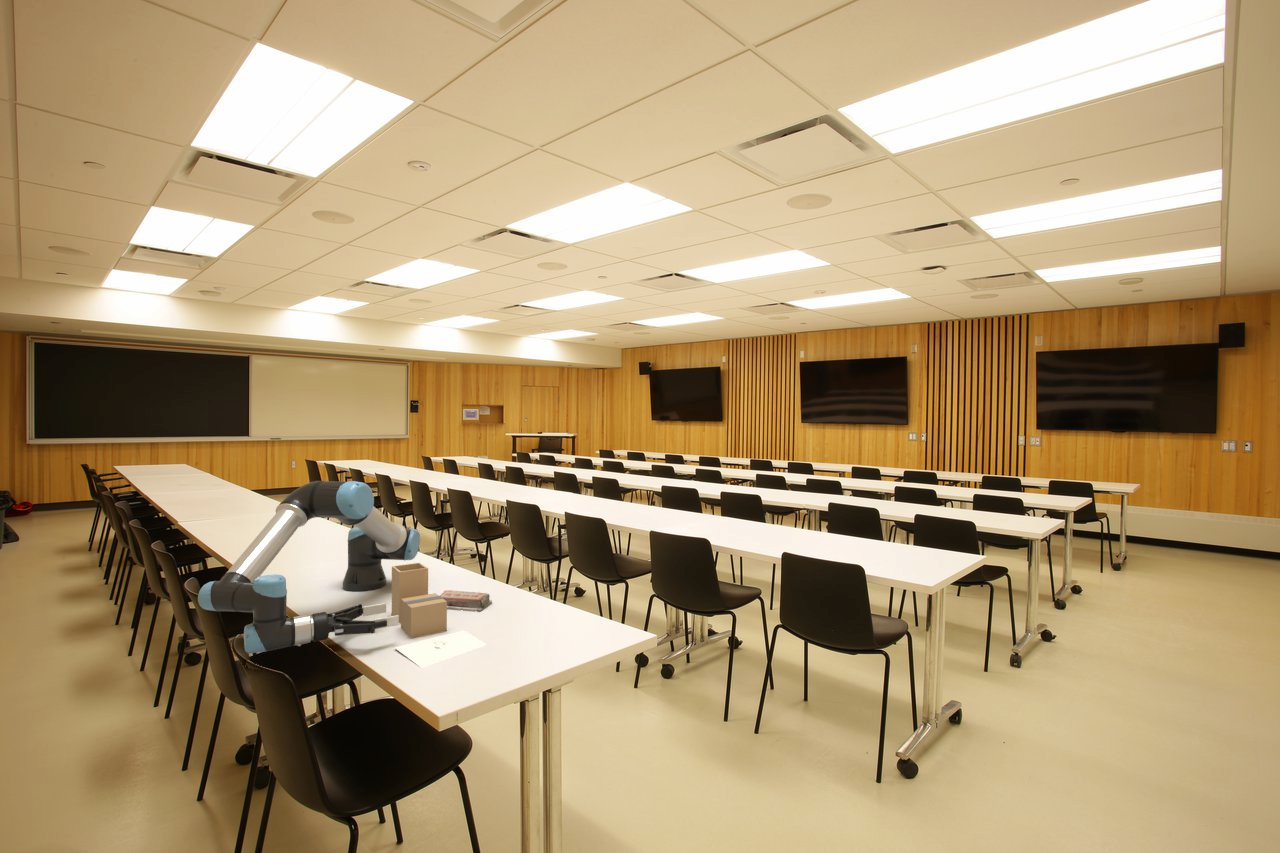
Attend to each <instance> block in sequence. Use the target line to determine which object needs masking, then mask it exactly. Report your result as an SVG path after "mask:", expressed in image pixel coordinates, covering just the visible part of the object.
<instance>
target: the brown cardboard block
mask: <svg viewBox="0 0 1280 853" xmlns="http://www.w3.org/2000/svg"><path fill="white" fill-rule="evenodd" d="M447 628H448V609H447V601H446V600H444V599H443V598H442V597H441V596H440V595H439V594H437V593H436V592H434V593H428V594H427V595H421V596H415V597H409V598H404V599H401V622H400V629H401V630H402V631H403V632H404V633H405V634H406V635H407V636H408V637H409V638H410V639H414V638H419V637H423V636H429V635H434V634H439V633H442V632H447V630H448V629H447Z"/></svg>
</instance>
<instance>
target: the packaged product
mask: <svg viewBox="0 0 1280 853" xmlns="http://www.w3.org/2000/svg"><path fill="white" fill-rule="evenodd" d="M439 596H441V597H442V598H443V599H444V600H446V601H447V610H453V611H461V610H463V612H464V611H465V612H475V611H477V613H480V612H483V611H484V610H485V609H486V608H488V607H489V606H491V605H492V604H493V601H492V599H490V594H489V593H487V592H475V591H462V590H448V589H447V590H443V592H442V593H441V594H440V595H439Z"/></svg>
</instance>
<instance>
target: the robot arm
mask: <svg viewBox="0 0 1280 853" xmlns="http://www.w3.org/2000/svg"><path fill="white" fill-rule="evenodd" d="M374 505H375V497H374V495H373V491H372V488H371V487H370V486H369V485H368V484H367V483H365V482H361V481H355V480H350V481H334V480H332V481H331V480H330V481H327V480H315V481H310V482H308V483H306V484H304V485H301V486H300V487H298V488H297V489H295V490H293V491H291V493H289V494H288V495H286V497H285V498H283V500H282V501H281V502H280V503H279V504H278V505H277V506H276V508H275V514H274V515H273V517H272V518H271V519H270V520H269V522H268V523H267V524H266V525H265V526H264V527H263V529H262V530H261V531H260V532H259V533H258V535H257V536H255V538H254V539H253V540H252V542H251V543H250V544H249V545H248V547H247V548H246V549H245V550H244V551H243V552H242V554H241V555H240V556H239V557H238V558H237V559H236V560H235V561H234V563H233V564H232V566H230V567H229V569H228V571H226V572H225V574H224V575H223V576H222V577H221V578H220V580H214V581H209V582H208V581H207V583H205V584H203V586H202V587H201V588H200V590H199V592H198V596H197V602H198V605H199V607H200V608H201V609H203V610H205V611H213V612H239V613H240V612H241V613H252V615H253V617H252V619H253V620H252V623H250V624H246V625H245V626H244V629H243V646H244V650H245V652H246V653H247V654H256V653H263V652H264V653H266V652H269V651H275V650H279V649H283V648H288V647H294V646H297V647H301V646H302V645H304V644H308V643H311V641H312V642H314V643H316V642H320V641H326V640H327V639H329V635H330V633H334V636H336V637H338V636H345V635H360V634H361V635H363V634H364V635H365V634H372V635H373V634H375V633H376V630H379V629H381V630H382V629H386V628H390V627H395V626H399V625H400V624H399V623H400V622H399V616H398V615H395V616H392V615H391V616H384V617H380V618H379V617H378V618H374V619H373V620H355V619H357V618H359V617H361V616H362V617H369V616H374V615H379V614H386V613H387V603H386V602H385V603H378V604H371V605H365V606H363V604H362V603H359V604H357V605H353V606H350V607H348V608H344V609H341V610H337V611H334V612H330V613H327V612H325V611H323V612H315V613H312V614H311V615H310V614H304V615H298V616H292V617H287V603H288V602H287V594H288V590H287V578H286V577H285V576H284V575H282V574H266V575H262V574H263V573H264V572H265V571H266V569H268V567H269V565H270V564H271V563H272V562H273V560H274V559H275V558H276V557H277V555H278V554H279V553H280V552H281V550H282V549H283V548H284V547H285V545H286V544H287V543H288V542H289V540H290V539H291V538H292V536H293V535H294V534H295V533H296V531H297V530H298V529H299V528H301V527H303V526H305V525H306V524H307V523H308V522H309V521H310V520H312V519H314V518H322V519H323V518H324V519H326V518H328V519H336V520H338V521H339V522H340V523H342V524H344V525H345V526H354V527H352V528H350V529H349V530H348V533H347V534H348V535H347V570H346V572H345V575H344V578H343V581H342V589H343V590H344V591H349V592H363V591H364V592H365V591H366V592H367V591H372V590H377V589H380V588H382V587H385V586H386V584H387V577H386V573H385V571H384V569H383V565H382V560H389V561H390V560H392V561H393V560H394V561H396V560H397V561H404V562H405V561H412V560H414V559H415V558H416V557H417V555H418V552H419V549H420V544H421V535H420V532H419V530H417V529H416V528H411V529H410V528H406V527H405V526H404V525H403V524H401V523H399V522H393V521H391V520H390V519H389V518H388V517H387V516H386V515H384V513H382V512H381V511H380V510H379V509H377V508H376V506H374Z"/></svg>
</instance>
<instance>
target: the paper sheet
mask: <svg viewBox="0 0 1280 853" xmlns="http://www.w3.org/2000/svg"><path fill="white" fill-rule="evenodd" d="M487 645H488V644H487V643H485V642H484V641H482V640H480V639H479V638H477V637H476V636H474V635H472V634H471V633H469V632H467V631H466V630H460V631H456V632H452V633H449V634H444V635H440V636H436V637H432V638H427V639H424V640H419V641H415V642H412V643H408V644H403V645H399V646H395V647H394V649H395V650H397V651H398V652H400V653H401V654H402V655H403V656H405V657H406V658H408V659H409V660H410V661H411V662H413V663H414V664H416V665H417V666H418V667H419V668H421V669H424V668H426V667H428V666H429V667H430V666H432V665H434V664H437V663H440V662H443V661H445V660H448V659H452V658H455V657H457V656H460V655H462V654H465V653H467V652H470V651H473V650H477V649H480V648H483V647H484V646H487Z"/></svg>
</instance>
